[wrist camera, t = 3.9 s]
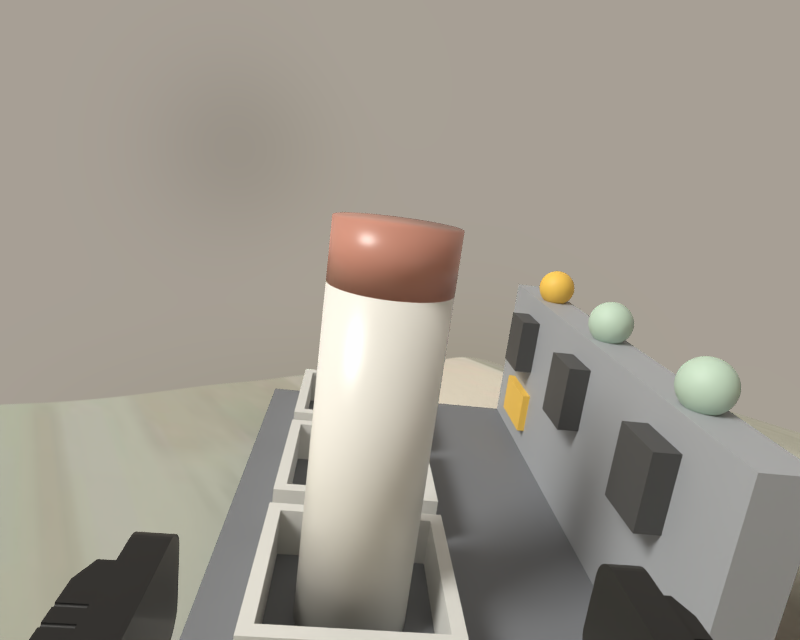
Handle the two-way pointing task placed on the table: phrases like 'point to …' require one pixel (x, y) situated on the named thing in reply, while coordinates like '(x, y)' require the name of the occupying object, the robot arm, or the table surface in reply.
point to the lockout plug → (373, 417)
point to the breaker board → (542, 497)
